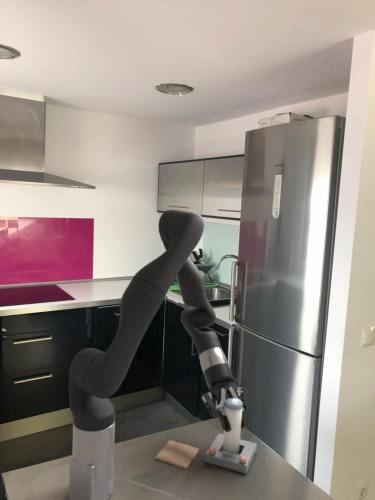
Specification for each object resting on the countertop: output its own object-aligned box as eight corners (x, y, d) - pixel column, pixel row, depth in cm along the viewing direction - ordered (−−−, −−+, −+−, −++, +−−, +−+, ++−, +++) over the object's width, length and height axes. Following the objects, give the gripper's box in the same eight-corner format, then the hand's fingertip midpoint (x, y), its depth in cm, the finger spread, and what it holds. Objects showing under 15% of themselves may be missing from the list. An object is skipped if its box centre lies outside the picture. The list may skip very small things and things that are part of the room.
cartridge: (236, 455, 105) (239, 407, 104) (220, 450, 107) (223, 403, 105) (241, 446, 109) (244, 400, 108) (225, 442, 111) (228, 396, 109)
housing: (246, 476, 101) (246, 462, 101) (204, 463, 105) (205, 450, 105) (256, 452, 111) (257, 440, 111) (218, 442, 115) (219, 430, 115)
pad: (186, 471, 102) (186, 467, 102) (154, 461, 105) (155, 457, 105) (199, 452, 110) (199, 448, 110) (169, 443, 113) (169, 440, 113)
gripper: (198, 365, 109) (219, 430, 100) (242, 358, 116) (265, 419, 106) (188, 376, 114) (207, 439, 105) (230, 370, 121) (252, 428, 111)
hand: (236, 429), depth 105 cm, fingers closed on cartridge, 4 cm apart
